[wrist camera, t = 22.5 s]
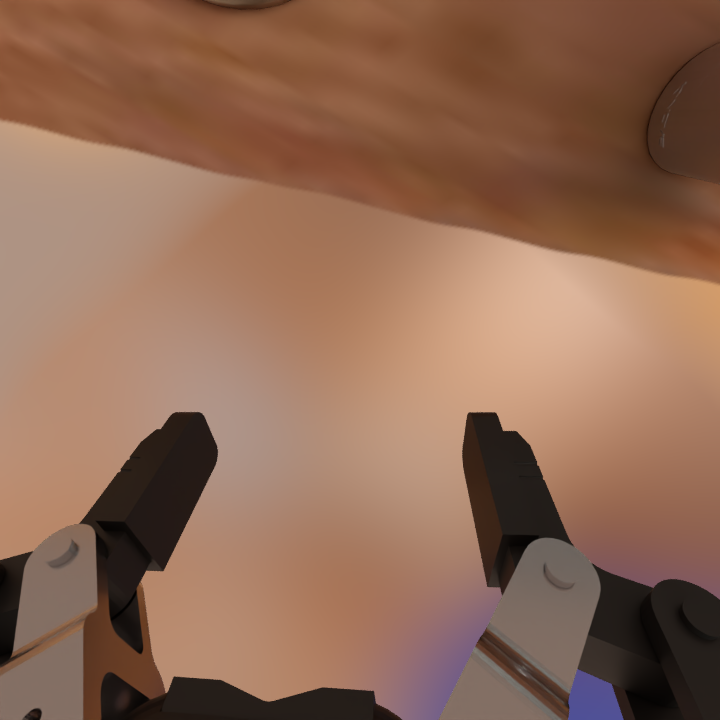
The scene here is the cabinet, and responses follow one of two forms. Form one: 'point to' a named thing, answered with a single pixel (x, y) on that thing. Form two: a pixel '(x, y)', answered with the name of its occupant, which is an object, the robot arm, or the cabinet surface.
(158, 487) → the robot arm
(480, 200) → the cabinet surface
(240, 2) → the turntable base
